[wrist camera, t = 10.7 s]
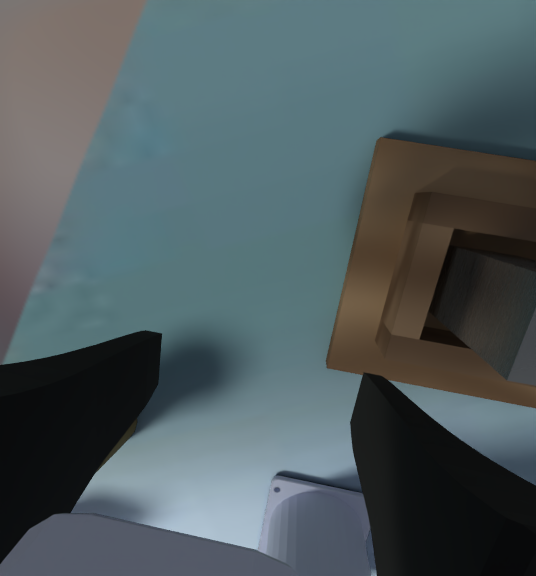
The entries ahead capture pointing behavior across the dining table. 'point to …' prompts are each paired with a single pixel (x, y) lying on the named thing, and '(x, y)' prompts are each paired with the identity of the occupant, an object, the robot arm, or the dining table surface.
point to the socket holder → (428, 263)
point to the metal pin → (491, 308)
